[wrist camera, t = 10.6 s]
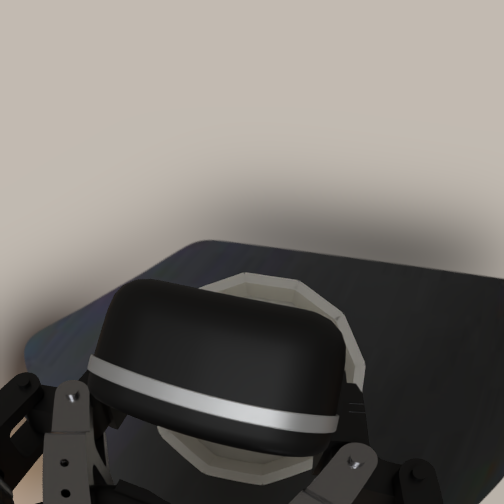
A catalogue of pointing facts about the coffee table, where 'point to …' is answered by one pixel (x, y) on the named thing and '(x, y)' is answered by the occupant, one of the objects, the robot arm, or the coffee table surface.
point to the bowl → (248, 462)
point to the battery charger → (221, 367)
